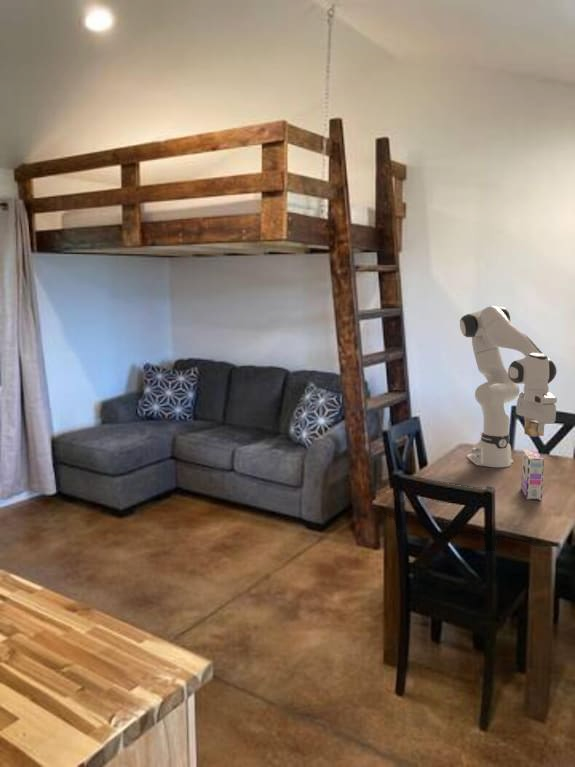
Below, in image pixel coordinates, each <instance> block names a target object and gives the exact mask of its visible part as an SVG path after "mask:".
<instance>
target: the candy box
mask: <svg viewBox="0 0 575 767" xmlns="http://www.w3.org/2000/svg"><path fill="white" fill-rule="evenodd" d="M521 453H522V455H521V456H522V457H521V478H520V479H521V481H520V482H521V483H520V490H521V492H522V493H523V495H524V497H525V499H526V500H531V501H533V500H534V501H542V498H543V480H544V462H545V459H544V458H543V456H542V455H541V454H540V453H539V451H538V450H533V449H532V450H531V449H530V450H529V449H522V452H521Z"/></svg>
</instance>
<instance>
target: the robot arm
mask: <svg viewBox="0 0 575 767" xmlns="http://www.w3.org/2000/svg"><path fill="white" fill-rule="evenodd" d="M459 328H460V331H461V334H462V335H463V336H464V337H465V338H471V344H472V349H473V350H472V351H473V355H474V358H475V363H476V366H477V370H478V372H480V373H481V374H482V375H483V376H484V378H485V379H486V381H485V382H484V383H481V384H480V385H479V386H477V387H476V389H475V392H474V398H475V400H476V402H477V403H478V404H479V405H480V407H481V410H482V415H483V432H481V433H480V440H479V441H477V442H476V443H475V444H473V446H472V449H471V453H468V454H467V455H466V458H467V459H468V460H469V461H471V462H472V463H473V464H475V466H480V467H490V468H508V467H511V465H512V464H513V463H514V460H513V459H512V446H511V444H510V439H511V438H510V437H511V436H510V434H509V431H510V417H509V416H508V415H507V413H506V411H505V407H504V405H505V404H506V403H510V402H512V401H514V400H515V399H516V398H517V400H516V406H515V412H516V415H518V416H521V417H523V418H524V422H525V421H538V424H539V426H538V428H536V432H538V433H542V431H543V427H544V428H545V425H549V424H550V425H552V424H554V423H555V422H556V417H557V406H556V403H557V401H558V399H557V397H556V396H554V394H552V393H551V392H550V391H549V385H548V384H550V383H551V382H553V380H554V379H555V377H556V375H557V367H556V365H555V363H554V361H553V360H551V358H549V357H548V356H547V355H546V354H544V353H543V352H542V351H541V349H540V348H539V347H538V346H537V345H536V344H535V342H534V341H532V339H531V338H530V337H529V336H528V335H527V334H525V333H523V332H522V331H520V330H519V329H518V328H517V327H515V325H513V323H512V322H511V316H510V312H509V311H508V309H507V308H506V307H504V306H496V305H490V306H489V305H488V306H486V307H485V308H483V309H482V310H477V311H475V312H472V313H467V314H465V315H463V316H462V317H461V318H460V320H459ZM499 347H500V348H505V349H510V350H515V351H518V352H520V353H521V354H523V355H524V357H522V358H520V359H517V360H514V361H512V362H511V363H510V365H509V367H508V370H507V368H506V367H505V365H504V361H503V358H502V355H501V351H500V348H499ZM519 385H524V386H523V391H520V386H519Z"/></svg>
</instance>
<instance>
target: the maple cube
mask: <svg viewBox="0 0 575 767" xmlns="http://www.w3.org/2000/svg"><path fill="white" fill-rule="evenodd" d="M538 426H539V424H538V421H536V420H530V421H525V420H524V432H523V433H524V435H527V436H530V437H533V438H534V437H535V438H536V437H544V434H545V433H544V432H545V426H544V427H543V431H542V433H538V432H536V428H538Z"/></svg>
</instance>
